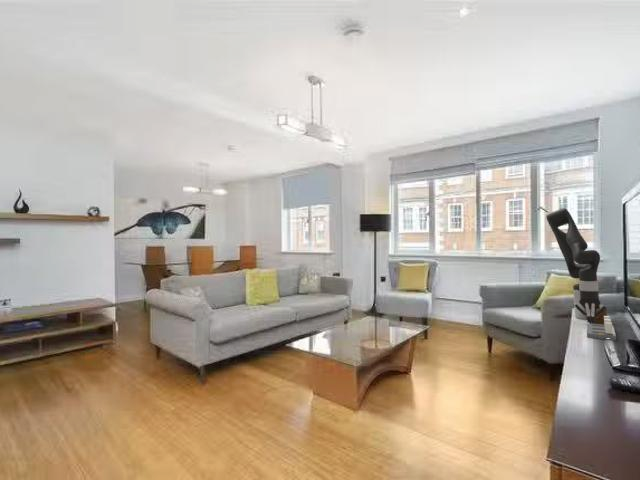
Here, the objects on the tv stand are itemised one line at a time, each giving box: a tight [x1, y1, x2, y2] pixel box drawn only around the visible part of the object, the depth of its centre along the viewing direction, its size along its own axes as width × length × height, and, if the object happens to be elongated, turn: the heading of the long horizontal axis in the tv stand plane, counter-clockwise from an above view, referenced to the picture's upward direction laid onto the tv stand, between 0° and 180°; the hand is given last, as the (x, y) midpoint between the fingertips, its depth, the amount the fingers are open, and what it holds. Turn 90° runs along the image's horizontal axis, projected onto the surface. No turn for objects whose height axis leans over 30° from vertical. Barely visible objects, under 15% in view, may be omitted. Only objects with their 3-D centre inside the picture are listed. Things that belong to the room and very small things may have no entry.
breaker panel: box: [586, 322, 617, 341], centre depth 173 cm, size 24×11×2 cm, turn 141°
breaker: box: [605, 321, 613, 334], centre depth 165 cm, size 3×2×5 cm
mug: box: [590, 305, 608, 325], centre depth 190 cm, size 12×8×9 cm, turn 144°
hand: (591, 323), depth 169 cm, fingers closed
